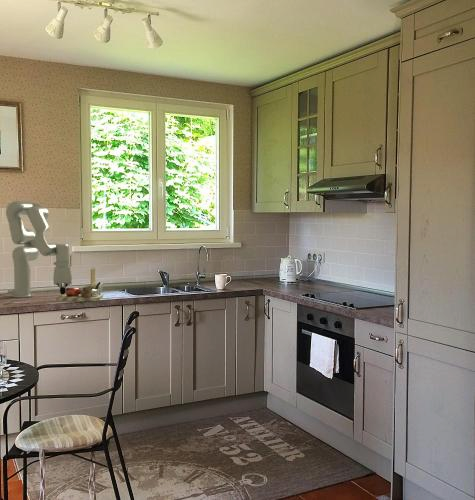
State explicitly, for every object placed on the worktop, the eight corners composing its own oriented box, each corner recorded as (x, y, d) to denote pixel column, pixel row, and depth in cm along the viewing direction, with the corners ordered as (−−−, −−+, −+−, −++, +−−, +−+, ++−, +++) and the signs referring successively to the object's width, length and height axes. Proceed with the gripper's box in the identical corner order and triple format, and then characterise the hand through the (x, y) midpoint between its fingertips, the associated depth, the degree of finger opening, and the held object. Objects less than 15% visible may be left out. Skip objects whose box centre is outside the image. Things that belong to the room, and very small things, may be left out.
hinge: (92, 293, 373) (98, 279, 373) (99, 295, 373) (104, 281, 373) (88, 297, 356) (93, 282, 356) (95, 299, 357) (100, 284, 356)
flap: (90, 287, 340) (90, 269, 340) (93, 285, 350) (93, 267, 350) (92, 287, 341) (92, 269, 340) (95, 285, 351) (95, 267, 350)
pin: (66, 296, 342) (66, 288, 342) (68, 295, 347) (67, 287, 347) (97, 296, 344) (97, 288, 343) (99, 295, 349) (99, 287, 348)
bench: (56, 301, 338) (56, 287, 337) (62, 297, 352) (62, 285, 351) (98, 301, 339) (98, 287, 339) (102, 297, 353) (102, 285, 353)
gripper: (48, 264, 339) (48, 294, 340) (73, 264, 340) (73, 295, 341) (51, 263, 347) (52, 293, 348) (76, 263, 348) (76, 293, 349)
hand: (62, 294), depth 345 cm, fingers closed
